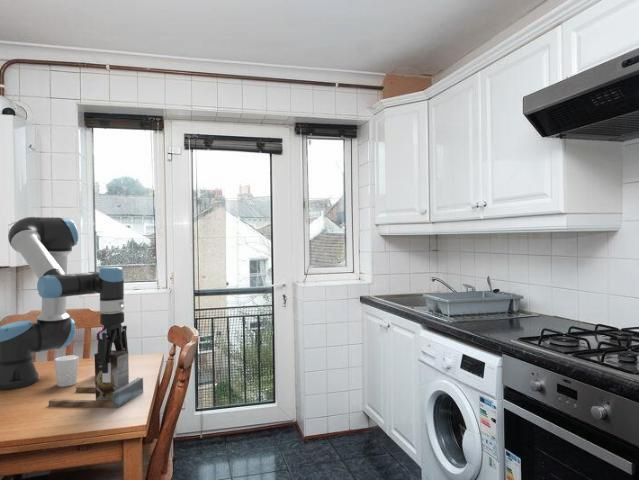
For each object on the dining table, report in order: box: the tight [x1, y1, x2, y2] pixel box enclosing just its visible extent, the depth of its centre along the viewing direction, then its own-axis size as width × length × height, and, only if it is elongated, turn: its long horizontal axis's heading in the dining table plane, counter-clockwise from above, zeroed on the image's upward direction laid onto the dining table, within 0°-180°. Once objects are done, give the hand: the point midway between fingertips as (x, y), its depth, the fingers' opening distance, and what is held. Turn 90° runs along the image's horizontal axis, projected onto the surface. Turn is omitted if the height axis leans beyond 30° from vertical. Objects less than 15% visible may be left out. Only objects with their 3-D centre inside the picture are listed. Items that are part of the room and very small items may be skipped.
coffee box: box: [94, 349, 130, 401], centre depth 153 cm, size 9×6×16 cm
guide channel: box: [48, 377, 144, 409], centre depth 153 cm, size 25×15×5 cm, turn 83°
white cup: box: [54, 354, 79, 388], centre depth 170 cm, size 8×8×10 cm
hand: (113, 378), depth 153 cm, fingers open, 7 cm apart
